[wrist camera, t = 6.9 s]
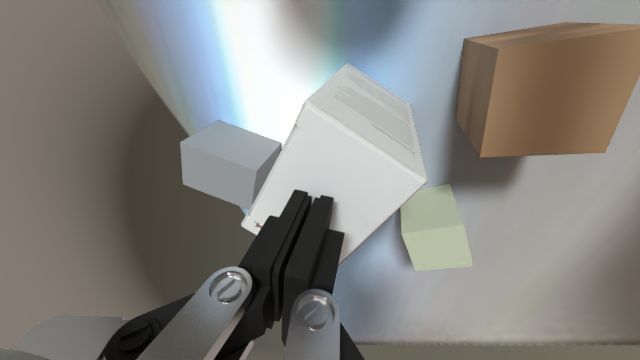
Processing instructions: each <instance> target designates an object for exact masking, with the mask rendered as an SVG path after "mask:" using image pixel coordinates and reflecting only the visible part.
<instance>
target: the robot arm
mask: <svg viewBox="0 0 640 360" xmlns="http://www.w3.org/2000/svg"><path fill="white" fill-rule="evenodd" d="M333 201H334V197H329V196H325V195H321V196H320V198H318V197H315V199H314V201H313V204H312V196H308V192H306V191H301V190H297V189H295V190H294V191H293V193H292V195H291V197H290V198H289V200H288V202H287V204H286V206H285V207H284V209H283V211H282V213H281V215H280V216H279V217H276V216H272V215H270V216H269V217H268V218H267V220H266V221H265V223H264V225H263V226H262V228H261V230H260V231H259V233H258V234H257V236H256V238H255V240H254V241H253V243H252V244H251V246H250V248H249V249H248V251H247V253H246V254H245V256H244V257H243V259H242V261H241V262H240V264H239V266H238V267H227V268H224V269H221V270H219V271H217V272H215V273H214V274H213V275H212V276H211V277H210V278H209V279H208V280H207V281H206V282H205V283H204V284H203V285H202V287H201V288H200V289H199V290H198V291H197V292H196V293H194V294H191V295H189V296H186V297H184V298H182V299H179V300H177V301H174V302H172V303H170V304H167V305H165V306H162V307H160V308H157V309H155V310H152V311H150V312H148V313H145V314H143V315H140V316H138V317H136V318H134V319H132V320H125V319H124V318H123V317H99V316H70V315H61V316H54V317H51V318H48V319H46V320H43V321H41V322H40V323H38V324H36V325H35V326H33V327H32V328H31V329H29V330H28V331H27V332H26V333H25V334H24V335H23V336H22V337H21V338H20V339H19V340H18V341H17V342H16V344H15V345H14V346H13V347H12V348H11V349H4V348H0V360H245V359H246V357H247V355H248V353H249V352H250V350H251V348H252V346H253V345H254V342H255V340H256V338H258V337H260V336H262V335H263V334H264V333H265V331H266V328H270V329H272V326H273V323H274V321H279V320H280V319H281V316H282V341H283V343H284V346H285V351H284V357H283V360H364V358H363V357H362V355H361V354H360V352H359V350H358V349H357V347H356V346H355V344H354V343H353V341H352V339H351V338H350V336H349V335H348V333H347V332H346V330H345V329H344V327H343V326H342V324H341V322H340V309H339V305H338V303H337V301H336V300H335V298H334V297H333V296H332V292H333V288H334V283H335V278H336V273H337V268H338V264H339V259H340V254H341V249H342V244H343V240H344V235H345V233H344V232H340V231H336V230H331V229H329V227H330V220H331V214H332V208H333ZM311 204H312V206H311Z"/></svg>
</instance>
